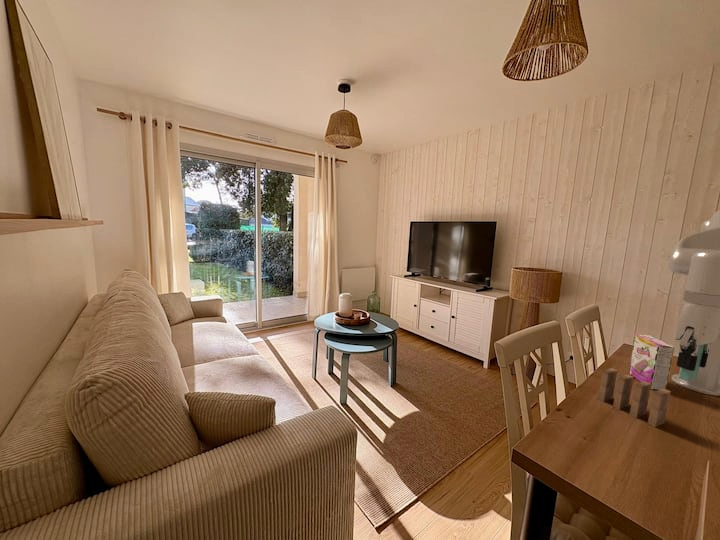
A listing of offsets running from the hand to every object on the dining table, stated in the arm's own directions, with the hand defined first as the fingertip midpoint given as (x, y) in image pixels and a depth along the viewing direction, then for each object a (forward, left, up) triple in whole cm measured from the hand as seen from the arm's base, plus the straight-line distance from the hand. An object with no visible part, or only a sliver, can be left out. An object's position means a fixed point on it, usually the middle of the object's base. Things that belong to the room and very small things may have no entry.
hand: (690, 366), depth 76 cm
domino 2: (0, -13, -20) cm, 23 cm away
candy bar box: (-27, -18, -20) cm, 38 cm away
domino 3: (0, -8, -20) cm, 21 cm away
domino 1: (0, -17, -20) cm, 26 cm away
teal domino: (0, 0, -3) cm, 3 cm away
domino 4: (0, -4, -20) cm, 20 cm away
